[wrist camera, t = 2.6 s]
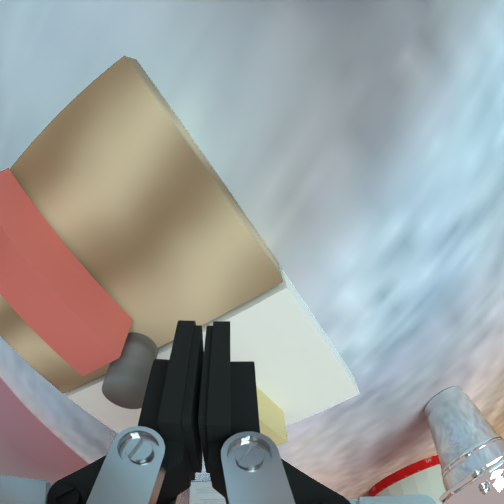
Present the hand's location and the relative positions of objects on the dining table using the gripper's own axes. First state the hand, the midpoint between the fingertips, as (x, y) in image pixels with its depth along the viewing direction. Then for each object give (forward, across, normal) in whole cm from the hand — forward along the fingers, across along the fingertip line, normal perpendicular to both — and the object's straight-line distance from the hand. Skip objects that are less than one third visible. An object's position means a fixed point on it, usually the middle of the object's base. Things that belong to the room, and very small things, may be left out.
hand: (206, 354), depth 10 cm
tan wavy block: (+7, +8, 0) cm, 10 cm away
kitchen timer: (+9, -28, +38) cm, 48 cm away
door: (+7, +1, +10) cm, 13 cm away
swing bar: (+5, +8, -1) cm, 10 cm away
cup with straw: (+8, -21, +16) cm, 28 cm away
